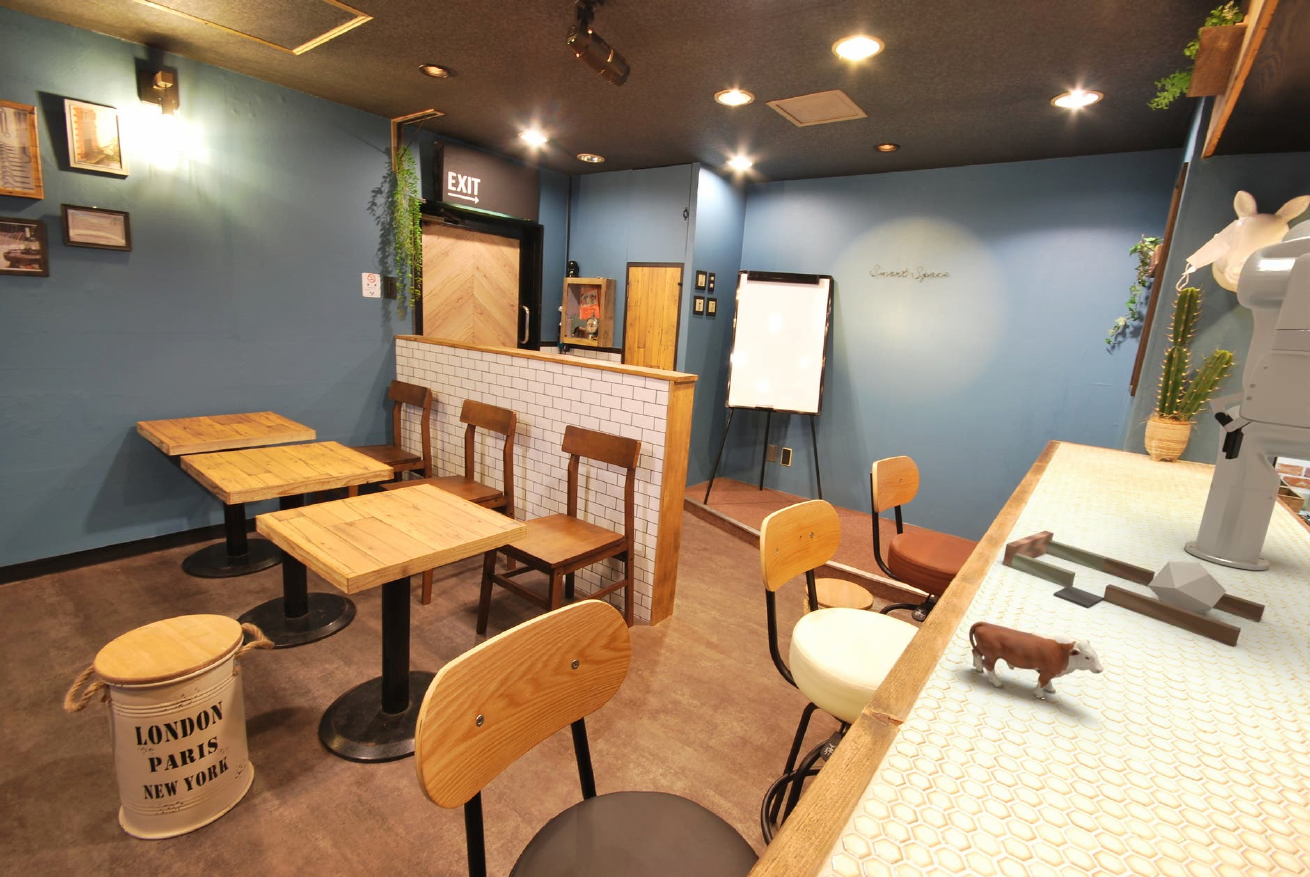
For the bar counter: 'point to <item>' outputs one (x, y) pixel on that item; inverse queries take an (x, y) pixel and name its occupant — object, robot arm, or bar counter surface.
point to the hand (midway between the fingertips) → (1276, 466)
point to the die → (1187, 587)
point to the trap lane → (1041, 543)
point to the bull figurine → (1030, 654)
